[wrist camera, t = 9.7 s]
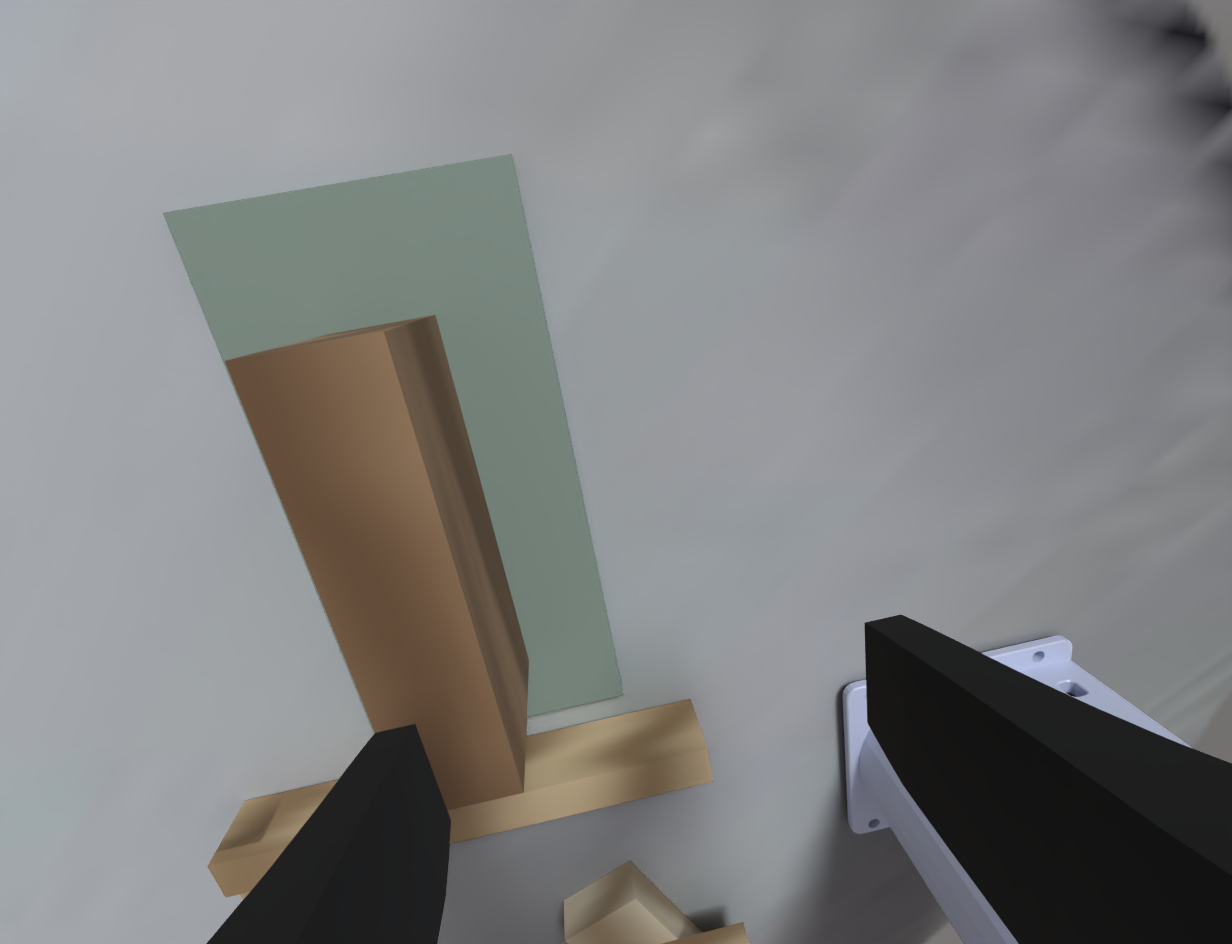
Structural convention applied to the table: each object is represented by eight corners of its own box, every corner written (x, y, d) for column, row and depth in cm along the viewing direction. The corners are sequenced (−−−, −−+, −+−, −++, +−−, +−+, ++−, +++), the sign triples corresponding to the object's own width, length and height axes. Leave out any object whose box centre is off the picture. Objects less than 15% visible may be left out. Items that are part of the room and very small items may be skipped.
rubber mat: (512, 157, 15) (511, 154, 15) (622, 687, 21) (623, 695, 21) (172, 215, 15) (162, 212, 14) (383, 741, 21) (380, 749, 21)
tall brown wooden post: (435, 314, 16) (384, 331, 11) (528, 660, 20) (524, 792, 15) (328, 334, 16) (224, 361, 11) (444, 679, 20) (409, 819, 15)
